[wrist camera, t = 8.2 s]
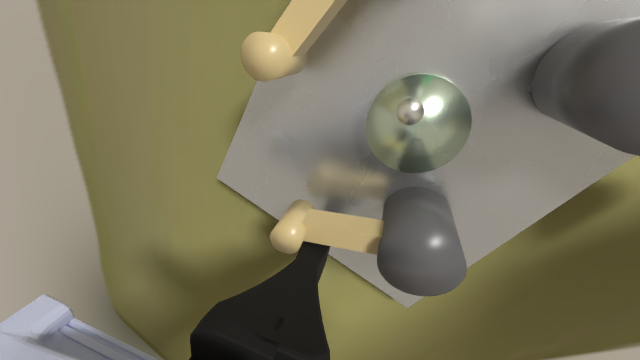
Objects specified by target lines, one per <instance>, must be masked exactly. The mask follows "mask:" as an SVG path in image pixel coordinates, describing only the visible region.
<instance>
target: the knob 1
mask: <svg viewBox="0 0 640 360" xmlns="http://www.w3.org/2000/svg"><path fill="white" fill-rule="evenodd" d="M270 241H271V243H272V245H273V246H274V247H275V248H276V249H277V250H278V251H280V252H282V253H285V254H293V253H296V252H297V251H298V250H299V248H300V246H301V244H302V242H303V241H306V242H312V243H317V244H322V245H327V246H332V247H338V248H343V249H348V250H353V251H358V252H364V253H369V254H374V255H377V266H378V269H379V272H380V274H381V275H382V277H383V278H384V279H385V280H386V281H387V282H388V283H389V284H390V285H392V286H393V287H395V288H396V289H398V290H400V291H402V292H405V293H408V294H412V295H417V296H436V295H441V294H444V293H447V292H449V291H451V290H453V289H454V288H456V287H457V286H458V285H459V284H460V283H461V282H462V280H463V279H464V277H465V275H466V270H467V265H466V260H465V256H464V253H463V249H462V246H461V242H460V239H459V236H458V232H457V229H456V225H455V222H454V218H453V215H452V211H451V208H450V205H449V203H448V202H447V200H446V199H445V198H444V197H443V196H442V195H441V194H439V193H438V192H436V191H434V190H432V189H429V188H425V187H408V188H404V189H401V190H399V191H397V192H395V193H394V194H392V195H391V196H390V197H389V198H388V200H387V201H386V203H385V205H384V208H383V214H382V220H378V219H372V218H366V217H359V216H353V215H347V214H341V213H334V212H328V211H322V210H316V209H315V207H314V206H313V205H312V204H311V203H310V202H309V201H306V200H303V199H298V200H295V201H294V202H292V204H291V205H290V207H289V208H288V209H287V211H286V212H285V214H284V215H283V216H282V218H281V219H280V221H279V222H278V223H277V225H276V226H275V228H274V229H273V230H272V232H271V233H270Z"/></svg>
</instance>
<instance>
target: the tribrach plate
mask: <svg viewBox="0 0 640 360" xmlns="http://www.w3.org/2000/svg"><path fill="white" fill-rule="evenodd" d="M291 1H292V0H291ZM290 3H291V2H290ZM633 17H640V0H347V2H346V3H345V4H344V6H343V7H342V8H341V9H340V11H339V12H338V13H337V14H336V16H335V17H334V18H333V19H332V21H331V22H330V23H329V25H328V26H327V27H326V28H325V30H324V31H323V32H322V33H321V35H320V36H319V37H318V38H317V40H316V41H315V42H314V44H313V45H312V46H311V47H310V49H309V50H308V51H307V62H306V65H305V67H304V69H303V70H302V71H301V72H299V73H298V74H295V75H291V76H287V77H283V78H279V79H275V80H271V81H267V82H262V81H257V83H256V85H255V88H254V90H253V93H252V95H251V97H250V100H249V102H248V104H247V107H246V109H245V112H244V114H243V116H242V119H241V121H240V124H239V126H238V128H237V131H236V133H235V135H234V138H233V140H232V143H231V145H230V147H229V150H228V152H227V155H226V157H225V159H224V162H223V164H222V166H221V169H220V171H219V174H218V176H217V179H219V180H220V181H222V182H223V183H225V184H226V185H228V186H229V187H231V188H232V189H233V190H235V191H236V192H238V193H239V194H241V195H242V196H244V197H245V198H247V199H248V200H250V201H251V202H253V203H254V204H255V205H257V206H258V207H260V208H261V209H263V210H264V211H266V212H267V213H269V214H270V215H272V216H273V217H275V218H276V219H277V220H279V221H280V219H281V218H282V216H283V215H284V214H285V212H286V211H287V209H288V208H289V207H290V205H291V204H292V202H294V201H295V200H298V199H303V200H306V201H309V202H310V203H311V204H312V205H313V206H314V207H315V209H316V210H322V211H328V212H334V213H341V214H347V215H353V216H359V217H366V218H372V219H378V220H382V214H383V208H384V205H385V203H386V201H387V200H388V198H389V197H390V196H391V195H392V194H394V193H395V192H397V191H399V190H401V189H404V188H408V187H425V188H429V189H432V190H434V191H436V192H438V193H439V194H441V195H442V196H443V197H444V198H445V199H446V200H447V202H448V203H449V205H450V208H451V211H452V215H453V218H454V222H455V225H456V229H457V232H458V236H459V239H460V242H461V246H462V249H463V253H464V256H465V260H466V265H467V268H468V267H469V266H471V265H472V264H474V263H475V262H477V261H478V260H480V259H481V258H483V257H484V256H486V255H487V254H489V253H490V252H492V251H493V250H495V249H496V248H498V247H499V246H501V245H502V244H504V243H505V242H507V241H508V240H510V239H511V238H513V237H514V236H516V235H517V234H519V233H520V232H522V231H523V230H525V229H526V228H527V227H529V226H530V225H532V224H533V223H535V222H536V221H538V220H539V219H541V218H542V217H544V216H545V215H547V214H548V213H550V212H551V211H553V210H554V209H556V208H557V207H559V206H560V205H562V204H563V203H565V202H566V201H568V200H569V199H571V198H572V197H574V196H575V195H577V194H578V193H580V192H581V191H583V190H584V189H586V188H587V187H589V186H590V185H592V184H593V183H595V182H596V181H598V180H599V179H601V178H602V177H604V176H605V175H606V174H608V173H609V172H611V171H612V170H614V169H615V168H617V167H618V166H620V165H621V164H623V163H624V162H626V161H627V160H629V159H630V158H632V157H633V156H635V155H632V154H628V153H625V152H622V151H619V150H617V149H614V148H612V147H610V146H608V145H606V144H604V143H602V142H600V141H598V140H596V139H594V138H592V137H590V136H587V135H585V134H583V133H581V132H579V131H577V130H575V129H573V128H571V127H569V126H567V125H565V124H563V123H561V122H558V121H556V120H554V119H552V118H550V117H548V116H547V115H545V114H544V113H543V112H541V111H540V109H539V108H538V107H537V105H536V104H535V102H534V99H533V95H532V82H533V77H534V74H535V71H536V69H537V67H538V65H539V63H540V62H541V60H542V59H543V57H544V56H545V55H546V53H547V52H548V51H549V50H550V49H551V48H552V47H553V46H554V45H555V44H556V43H557V42H559V41H560V40H561V39H563V38H564V37H565V36H567V35H569V34H570V33H572V32H574V31H576V30H578V29H580V28H582V27H585V26H587V25H590V24H594V23H597V22H603V21H610V20H618V19H625V18H633ZM328 254H329V255H330V256H332V257H333V258H335V259H336V260H338V261H339V262H341V263H342V264H344V265H345V266H347V267H348V268H349V269H351V270H352V271H354V272H355V273H357V274H358V275H360V276H361V277H363V278H364V279H366V280H367V281H369V282H370V283H371V284H373V285H374V286H376V287H377V288H379V289H380V290H382V291H383V292H385V293H386V294H388V295H389V296H391V297H392V298H393V299H395V300H396V301H398V302H399V303H401V304H402V305H404V306H405V307H407V308H408V307H410V306H411V305H413V304H414V303H416V302H417V301H419V300H420V299H422V298H423V297H425V296H417V295H412V294H408V293H405V292H402V291H400V290H398V289H396V288H395V287H393V286H392V285H390V284H389V283H388V282H387V281H386V280H385V279H384V278H383V277H382V275H381V274H380V272H379V269H378V266H377V255H374V254H369V253H364V252H358V251H353V250H348V249H343V248H338V247H332V246H331V247H330V250H329V253H328Z"/></svg>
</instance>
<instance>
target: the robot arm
mask: <svg viewBox="0 0 640 360" xmlns="http://www.w3.org/2000/svg"><path fill="white" fill-rule="evenodd" d="M330 247H331V246H327V245H322V244H317V243H312V242H306V241H303V243H302V245H301V248H300V250H299V253H298V255H297V257H296V259H295V260H294V261H293V262H292V263H291V264H289V265H288V266H287V267H285V268H284V269H283V270H281V271H280V272H278V273H277V274H275V275H274V276H272V277H271V278H269V279H267V280H266V281H264V282H262V283H261V284H259V285H257V286H255V287H253V288H251V289H249V290H247V291H245V292H243V293H241V294H238V295H236V296H234V297H231V298H229V299H226V300H224V301H221V302H219V303H217V304H216V305H215V306H214V307H213V308H212V309H211V310H210V311H209V312H208V313H207V314H206V315H205V316H204V317H203V319H202V320H201V321H200V323H199V324H198V325H197V327H196V328H195V329H194V331H193V332H192V333H191V336H190V344H191V358H190V359H189V360H330V350H329V346H328V343H327V339H326V335H325V331H324V326H323V322H322V316H321V310H320V304H319V295H318V282H319V280H320V277H321V274H322V271H323V269H324V266H325V263H326V260H327V256H328V253H329V250H330ZM0 360H158V359H156V358H154V357H152V356H150V355H148V354H146V353H144V352H142V351H140V350H138V349H136V348H134V347H132V346H130V345H128V344H126V343H124V342H122V341H120V340H118V339H116V338H114V337H112V336H110V335H108V334H106V333H104V332H102V331H100V330H98V329H96V328H94V327H91V326H90V325H88V324H86V323H84V322H82V321H80V320H78V319H76V318H74V314H73V312H72V310H71V309H70V307H69V306H68V305H66V304H65V303H63V302H61V301H59V300H57V299H55V298H53V297H51V296H49V295H47V294H43V295H41V296H40V297H38V298H37V299H35V300H34V301H33V302H31V303H29V304H28V305H27V306H25V307H24V308H22V309H21V310H20V311H18V312H16V313H15V314H13V315H12V316H10V317H9V318H7V319H6V320H4V321H3V322H1V323H0Z"/></svg>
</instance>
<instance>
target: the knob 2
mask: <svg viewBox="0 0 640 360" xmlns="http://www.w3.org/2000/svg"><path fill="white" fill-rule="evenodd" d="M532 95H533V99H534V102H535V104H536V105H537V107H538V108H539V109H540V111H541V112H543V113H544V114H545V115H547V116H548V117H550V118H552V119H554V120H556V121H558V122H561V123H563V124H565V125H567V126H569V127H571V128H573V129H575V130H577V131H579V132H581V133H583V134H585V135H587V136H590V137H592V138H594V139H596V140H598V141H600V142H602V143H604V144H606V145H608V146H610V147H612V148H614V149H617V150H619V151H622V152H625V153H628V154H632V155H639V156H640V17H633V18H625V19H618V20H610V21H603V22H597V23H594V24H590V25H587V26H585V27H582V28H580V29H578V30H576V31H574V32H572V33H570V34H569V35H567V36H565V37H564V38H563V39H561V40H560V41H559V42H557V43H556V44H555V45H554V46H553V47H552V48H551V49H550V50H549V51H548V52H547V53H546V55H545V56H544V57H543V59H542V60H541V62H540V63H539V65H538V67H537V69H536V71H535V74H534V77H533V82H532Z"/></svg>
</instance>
